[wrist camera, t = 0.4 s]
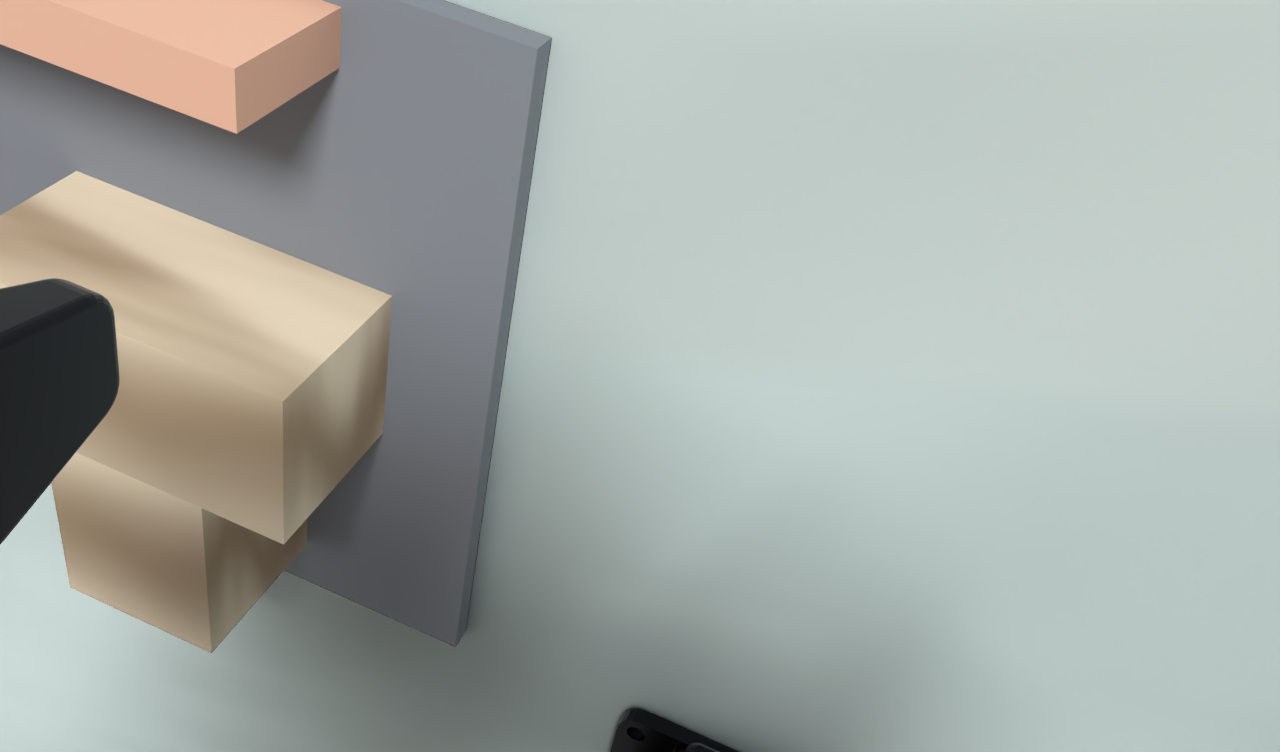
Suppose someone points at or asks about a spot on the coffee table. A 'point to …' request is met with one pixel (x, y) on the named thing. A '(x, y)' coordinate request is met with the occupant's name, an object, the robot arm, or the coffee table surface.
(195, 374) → the t block
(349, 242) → the slate mat
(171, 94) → the block
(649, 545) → the coffee table surface
